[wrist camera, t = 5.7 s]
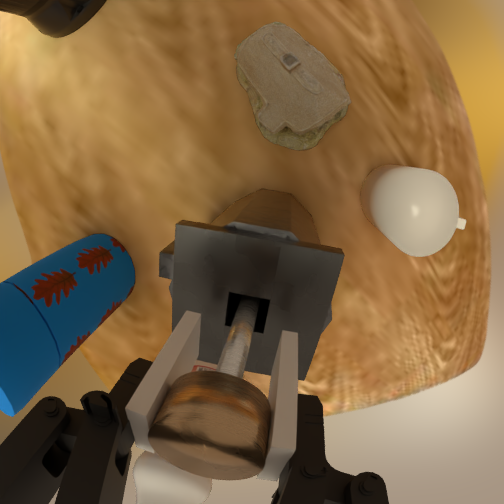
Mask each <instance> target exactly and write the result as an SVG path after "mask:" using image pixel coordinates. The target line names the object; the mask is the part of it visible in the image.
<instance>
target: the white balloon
mask: <svg viewBox="0 0 504 504" xmlns="http://www.w3.org/2000/svg"><path fill="white" fill-rule="evenodd" d="M360 202H361V207H362V210H363V212H364V214H365V216H366V218H367V219H368V220H369V221H370V222H371V223H372V224H373V225H374V226H375V227H376V228H377V229H378V230H379V231H381V232H382V233H383V234H384V235H385V236H386V237H387V238H388V239H389V240H390V241H391V242H392V243H393V244H394V245H395V246H396V247H398V248H399V249H400V250H401V251H402V252H404V253H406V254H408V255H411V256H416V257H424V256H428V255H432V254H434V253H436V252H437V251H439V250H441V249H442V248H443V247H444V246H445V245H446V244H447V243H448V242H449V240H450V239H451V237H452V235H453V234H454V231H455V229H456V228H459V229H463V230H464V228H465V224H466V220H465V219H463V218H461V217H458V216H459V205H458V200H457V196H456V193H455V191H454V189H453V187H452V185H451V184H450V183H449V181H448V180H447V179H446V178H445V177H444V176H442V175H441V174H439V173H437V172H435V171H432V170H427V169H421V168H415V167H408V166H401V165H392V164H388V165H382V166H380V167H377V168H376V169H374V170H373V171H371V172H370V174H369V175H368V176H367V177H366V179H365V180H364V182H363V185H362V188H361V193H360Z"/></svg>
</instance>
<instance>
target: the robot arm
mask: <svg viewBox="0 0 504 504" xmlns="http://www.w3.org/2000/svg"><path fill="white" fill-rule="evenodd" d="M105 1H106V0H0V11H3V12H8V13H12V14H16V15H20V16H23V17H26V18H27V19H28V20H29V21H30V22H31V23H32V24H33V25H34V26H35V27H36V28H37V29H38V30H39V31H40V32H41V33H43V34H45V35H48V36H51V37H55V38H58V37H63V36H66V35H68V34H70V33H72V32H74V31H75V30H77V29H78V28H80V27H81V26H82V25H83V24H85V23H86V22H87V21H88V20H89V19H90V18H91V17H92V16H93V15H94V14H95V13H96V12H97V11H98V10H99V8H100V7H101V6H102V5H103V3H104V2H105ZM200 324H201V314H200V313H195V312H191V311H187V310H186V312H185V313H184V315H183V317H182V318H181V320H180V321H179V323H178V324H177V326H176V327H175V329H174V331H173V332H172V334H171V335H170V337H169V338H168V340H167V342H166V343H165V345H164V346H163V348H162V349H161V351H160V353H159V354H158V356H157V357H156V359H155V361H154V362H151V361H148V360H145V359H142V358H138V359H137V360H135V361H134V362H132V363H130V365H129V366H128V367H127V369H126V370H125V372H124V373H123V374H122V376H121V377H120V380H118V382H117V383H116V384H115V386H114V387H113V389H112V390H111V392H110V393H109V394H108V393H106V392H104V391H91V392H88V393H86V394H85V395H83V397H82V398H81V399H80V401H81V404H82V406H83V408H84V410H80V409H75V408H69V407H66V405H65V403H64V402H63V401H62V400H61V399H60V398H57V397H53V396H52V397H51V396H49V397H45V398H43V399H42V400H40V401H39V402H38V403H37V404H36V405H35V406H34V407H33V409H32V410H31V411H30V412H29V413H28V414H27V415H26V416H25V417H24V419H23V420H22V421H21V422H20V423H19V424H18V426H16V428H15V429H14V430H13V431H12V432H11V433H10V435H9V436H8V437H7V438H6V439H5V440H4V441H3V443H2V444H1V445H0V504H49V502H50V501H51V499H52V498H53V496H54V495H55V493H56V492H57V490H58V488H59V487H60V488H59V491H58V494H57V498H56V501H55V504H122V500H123V495H124V490H125V485H126V480H127V474H128V470H129V465H130V461H131V447H132V445H133V443H134V441H135V444H136V447H138V448H140V449H143V450H146V451H149V452H151V453H155V450H154V449H153V448H152V447H151V445H150V443H149V440H148V432H149V430H150V428H151V426H152V424H153V422H154V420H155V418H156V416H157V414H158V412H159V410H160V408H161V406H162V404H163V402H164V400H165V398H166V396H167V394H168V392H169V390H170V388H171V386H172V384H173V382H174V381H175V380H176V379H177V378H178V377H180V376H182V375H184V374H186V373H189V372H191V371H192V369H193V367H194V364H195V362H196V360H197V358H198V356H199V340H200ZM268 400H269V403H270V405H271V420H270V428H269V436H268V444H267V452H266V459H265V466H264V469H263V470H262V471H261V472H260V473H259V474H258V475H257V478H258V479H263V480H271V481H277V480H278V478H279V487H278V489H277V490H276V492H275V493H274V494H273V496H272V498H273V499H272V502H271V504H389V502H388V496H387V490H386V485H385V483H384V480H383V479H382V478H381V477H380V476H379V475H377V474H375V473H373V472H364V473H360V474H358V475H357V476H354V475H350V474H347V473H343V472H340V471H338V470H335V469H334V468H333V467H331V466H330V464H329V463H328V462H327V460H326V456H325V440H324V426H323V424H324V422H323V405H322V403H321V402H320V400H319V398H318V396H313V395H305V394H298V333H296V332H290V331H284V330H282V334H281V338H280V342H279V345H278V349H277V353H276V357H275V361H274V364H273V368H272V373H271V381H270V389H269V397H268Z"/></svg>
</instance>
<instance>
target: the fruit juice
mask: <svg viewBox="0 0 504 504" xmlns="http://www.w3.org/2000/svg"><path fill="white" fill-rule="evenodd" d="M216 368H217V365H216V364H212V363H207V362H203V361H199V360H196V362H195V364H194V367H193V369H192V371H191V372H194V371H216ZM133 479H134V483H135V487H136V504H202V503H203V502H205V501H206V499H207V498H208V497H209V494H210V492H211V489H212V479H211V478H206V477H202V476H198V475H195V474H192V473H189V472H187V471H184V470H182V469H180V468H178V467H176V466H174V465H172V464H171V463H169V462H167V461H166V460H165V459H163V458H162V457H161V456H160V455H159V454H157V453H156V451H155V453H151V452H149V451H146V450H145V451H144V452H143V453H142V454H141V455H140V456H139V457H138V459H137V460H136V462H135V465H134V467H133Z"/></svg>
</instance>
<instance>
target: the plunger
mask: <svg viewBox="0 0 504 504" xmlns="http://www.w3.org/2000/svg"><path fill="white" fill-rule="evenodd" d="M231 295H232V296H233V297H234V298H236V299H237V300H239V301H240V303H239V306H238V308H237V311H236V314H235V317H234V320H233V323H232V326H231V328H230V331H229V334H228V337H227V340H226V343H225V345H224V348H223V351H222V354H221V357H220V360H219V362H218V365H217V368H216V371H194V372H189V373H186V374H184V375H182V376H180V377H178V378H177V379H176V380H175V381H174V382H173V384H172V386H171V388H170V390H169V392H168V394H167V396H166V398H165V400H164V402H163V404H162V406H161V408H160V410H159V412H158V414H157V416H156V418H155V420H154V422H153V424H152V426H151V428H150V430H149V432H148V440H149V443H150V445H151V447H152V448H153V449H154V450H155V451H156V453H157V454H159V455H160V456H161V457H162V458H163V459H165V460H166V461H167V462H169V463H171V464H172V465H174V466H176V467H178V468H180V469H182V470H184V471H187V472H189V473H192V474H195V475H198V476H202V477H206V478H211V479H218V480H241V479H247V478H250V477H253V476H255V475H257V474H259V473H260V472H261V471H262V470H263V469H264V466H265V459H266V452H267V444H268V436H269V428H270V420H271V405H270V403H269V400H268V399H267V397H266V396H265V395H264V394H263V393H262V392H261V391H260V390H259V389H258V388H257V387H255V386H254V385H252V384H251V383H249V382H247V381H245V380H243V379H242V377H243V373H244V369H245V365H246V360H247V356H248V352H249V347H250V343H251V339H252V334H253V330H254V325H255V321H256V317H257V312H258V308H259V306H269V303H270V300H269V299H264V298H258V297H253V296H248V295H243V294H238V293H233V292H231Z"/></svg>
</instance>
